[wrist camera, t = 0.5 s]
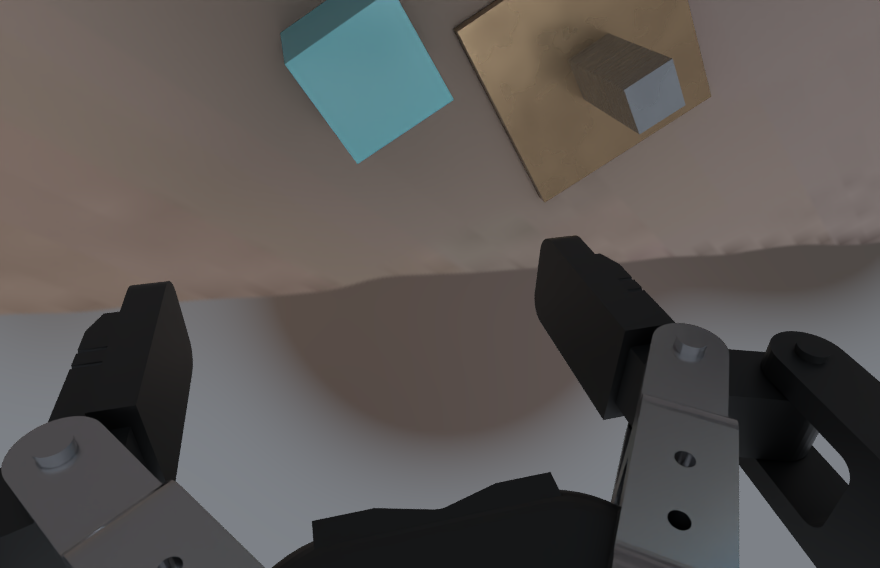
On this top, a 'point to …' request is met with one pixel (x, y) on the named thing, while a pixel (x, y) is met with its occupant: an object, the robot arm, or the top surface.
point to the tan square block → (583, 78)
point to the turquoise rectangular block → (364, 71)
